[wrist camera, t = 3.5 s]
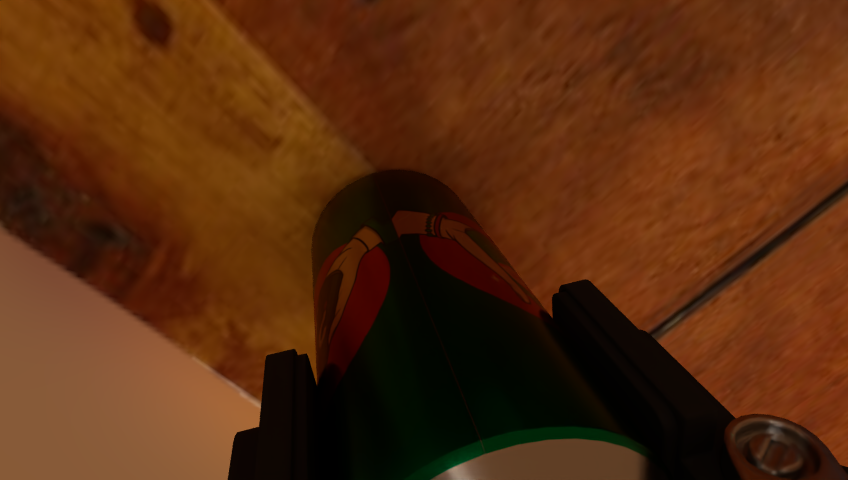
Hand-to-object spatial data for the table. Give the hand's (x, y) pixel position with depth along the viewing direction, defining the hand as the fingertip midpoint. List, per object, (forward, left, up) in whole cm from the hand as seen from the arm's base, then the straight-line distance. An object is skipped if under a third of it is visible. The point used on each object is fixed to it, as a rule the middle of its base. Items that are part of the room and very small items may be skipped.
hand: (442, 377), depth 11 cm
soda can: (0, 0, -7) cm, 7 cm away
